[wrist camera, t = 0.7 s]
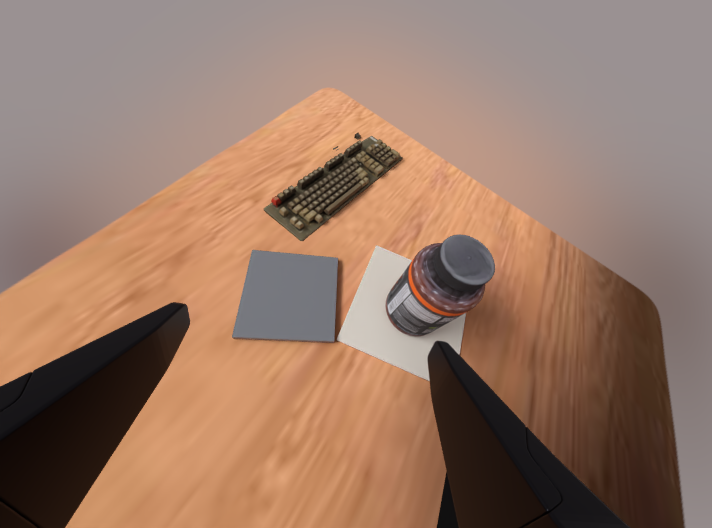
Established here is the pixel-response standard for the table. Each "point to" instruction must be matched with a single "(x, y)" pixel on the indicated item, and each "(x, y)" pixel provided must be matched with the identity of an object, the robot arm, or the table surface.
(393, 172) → the table surface
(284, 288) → the slate coaster
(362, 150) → the keyboard
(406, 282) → the supplement bottle
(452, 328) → the card
